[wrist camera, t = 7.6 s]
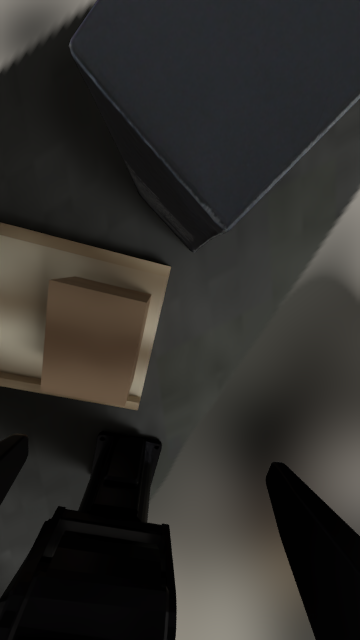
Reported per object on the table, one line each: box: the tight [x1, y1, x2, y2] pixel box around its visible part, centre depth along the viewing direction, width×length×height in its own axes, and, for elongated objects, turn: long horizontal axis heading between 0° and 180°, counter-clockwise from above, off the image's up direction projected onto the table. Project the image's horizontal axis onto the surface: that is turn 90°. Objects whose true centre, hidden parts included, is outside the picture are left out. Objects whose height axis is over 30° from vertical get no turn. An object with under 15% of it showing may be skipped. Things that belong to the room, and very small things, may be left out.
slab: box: [40, 276, 152, 406], centre depth 15 cm, size 8×6×4 cm
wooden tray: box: [0, 222, 171, 410], centre depth 15 cm, size 13×22×4 cm, turn 76°
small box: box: [69, 0, 360, 252], centre depth 9 cm, size 11×6×10 cm, turn 135°
